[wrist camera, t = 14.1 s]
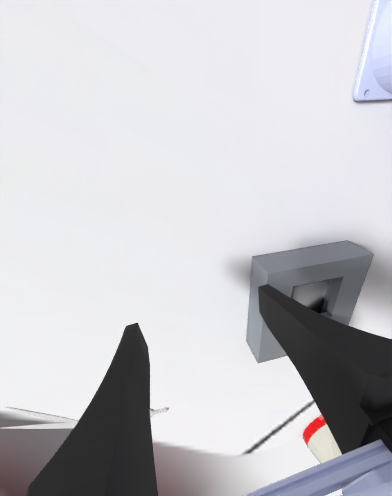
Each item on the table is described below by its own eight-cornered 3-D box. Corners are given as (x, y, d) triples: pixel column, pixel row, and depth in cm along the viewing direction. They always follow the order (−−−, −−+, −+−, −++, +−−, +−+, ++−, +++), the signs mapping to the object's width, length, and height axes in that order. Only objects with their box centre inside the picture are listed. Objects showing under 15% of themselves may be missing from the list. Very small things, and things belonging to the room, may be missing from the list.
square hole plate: (347, 240, 26) (373, 253, 24) (323, 322, 33) (342, 341, 30) (252, 256, 24) (268, 273, 21) (246, 340, 31) (257, 363, 28)
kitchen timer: (362, 418, 53) (435, 511, 40) (311, 447, 54) (366, 547, 41) (353, 396, 46) (437, 498, 33) (295, 429, 47) (355, 542, 34)
